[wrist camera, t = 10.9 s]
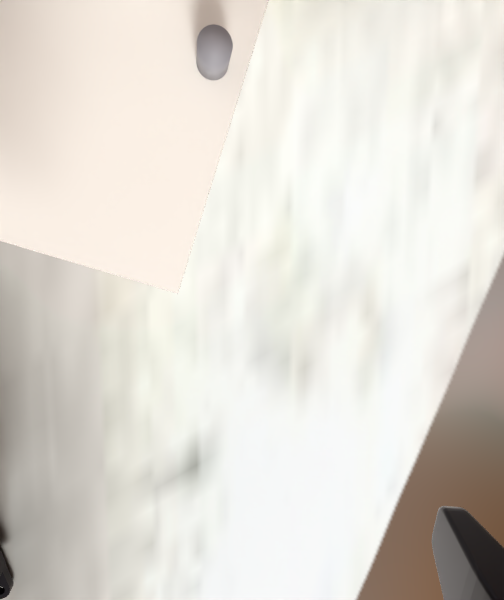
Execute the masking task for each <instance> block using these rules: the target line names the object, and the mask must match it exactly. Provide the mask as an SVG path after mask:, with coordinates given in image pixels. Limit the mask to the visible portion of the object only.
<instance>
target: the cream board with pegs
mask: <svg viewBox="0 0 504 600" xmlns="http://www.w3.org/2000/svg"><path fill="white" fill-rule="evenodd" d="M268 1H269V0H0V241H2V242H6V243H9V244H13V245H16V246H19V247H23V248H26V249H29V250H33V251H36V252H40V253H43V254H46V255H50V256H53V257H56V258H60V259H63V260H66V261H70V262H73V263H77V264H80V265H83V266H87V267H90V268H93V269H97V270H100V271H103V272H107V273H110V274H114V275H117V276H120V277H124V278H127V279H130V280H134V281H137V282H140V283H144V284H147V285H151V286H154V287H157V288H161V289H164V290H167V291H171V292H174V293H177V294H178V292H179V289H180V285H181V282H182V279H183V276H184V273H185V269H186V266H187V263H188V260H189V256H190V253H191V250H192V247H193V243H194V240H195V237H196V234H197V230H198V227H199V224H200V221H201V218H202V214H203V211H204V208H205V205H206V201H207V198H208V195H209V192H210V188H211V185H212V182H213V179H214V176H215V172H216V169H217V166H218V163H219V159H220V156H221V153H222V150H223V146H224V143H225V140H226V137H227V134H228V130H229V127H230V124H231V121H232V117H233V114H234V111H235V108H236V104H237V101H238V98H239V95H240V92H241V88H242V85H243V82H244V79H245V75H246V72H247V69H248V66H249V62H250V59H251V56H252V53H253V49H254V46H255V43H256V40H257V37H258V33H259V30H260V27H261V24H262V20H263V17H264V14H265V11H266V7H267V4H268Z"/></svg>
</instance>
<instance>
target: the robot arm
mask: <svg viewBox="0 0 504 600" xmlns="http://www.w3.org/2000/svg"><path fill="white" fill-rule="evenodd" d="M432 547H433V553H434V557H435V562H436V566H437V571H438V575H439V579H440V584H441V588H442V593H443V597H444V600H504V548H503V547H502V546H501V545H500V544H499V543H498V542H497V541H496V540H495V539H494V538H493V537H492V536H491V534H489V532H488V531H487V530H485V528H484V527H483V526H481V524H479V522H478V521H477V520H476V519H475V518H474V517H473V516H472V515H471V514H470V513H468V511H466V510H465V509H463V508H460V507H447V506H443V507H440V508H439V510H438V513H437V517H436V522H435V526H434V530H433V534H432ZM0 586H1V587H3V588H1V587H0V599H2V598H5V597H7V596H8V595H9V593H10V591H11V589H12V587H13V580H12V577H11V575H10V573H9V571H8V568H7V566H6V561H5V559H4V557H3V554H2V552H1V550H0Z"/></svg>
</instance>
